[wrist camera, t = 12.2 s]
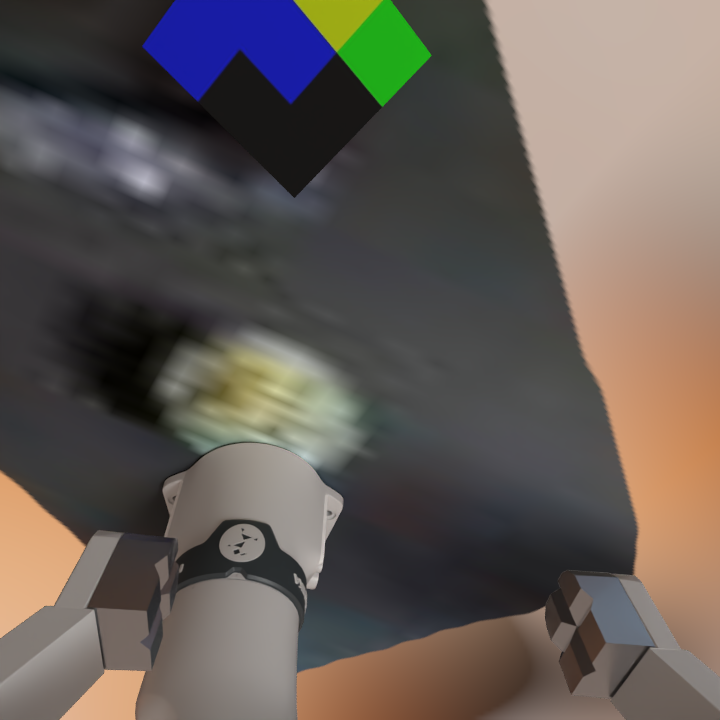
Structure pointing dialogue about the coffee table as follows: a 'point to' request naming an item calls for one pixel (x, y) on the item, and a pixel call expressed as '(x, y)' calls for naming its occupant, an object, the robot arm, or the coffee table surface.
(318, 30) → the puzzle toy
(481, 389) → the coffee table surface
